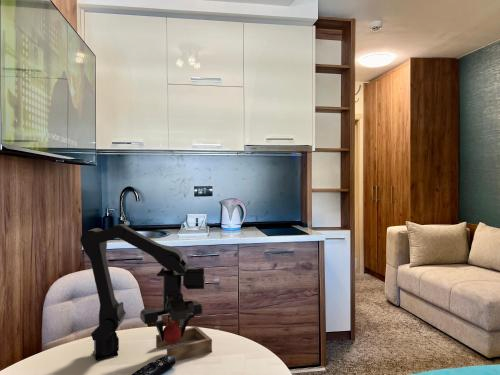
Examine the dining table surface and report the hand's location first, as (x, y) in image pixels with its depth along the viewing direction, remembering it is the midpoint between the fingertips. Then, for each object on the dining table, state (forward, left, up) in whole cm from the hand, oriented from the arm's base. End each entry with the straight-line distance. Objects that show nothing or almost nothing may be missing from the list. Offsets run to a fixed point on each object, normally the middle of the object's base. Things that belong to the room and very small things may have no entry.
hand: (171, 338), depth 113 cm
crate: (+4, 0, -4) cm, 6 cm away
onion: (0, 0, -2) cm, 2 cm away
